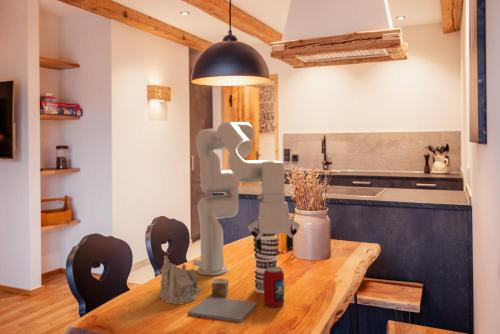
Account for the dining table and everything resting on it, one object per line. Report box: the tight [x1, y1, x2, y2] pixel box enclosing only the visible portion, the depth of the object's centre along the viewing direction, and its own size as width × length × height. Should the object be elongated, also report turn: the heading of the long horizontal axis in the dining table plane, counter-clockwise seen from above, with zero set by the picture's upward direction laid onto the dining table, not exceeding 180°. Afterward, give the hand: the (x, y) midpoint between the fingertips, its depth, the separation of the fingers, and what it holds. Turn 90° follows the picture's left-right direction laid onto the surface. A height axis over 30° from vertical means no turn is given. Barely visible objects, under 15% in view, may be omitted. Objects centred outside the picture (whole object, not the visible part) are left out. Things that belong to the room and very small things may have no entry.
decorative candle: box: [253, 225, 280, 295], centre depth 163 cm, size 9×9×25 cm
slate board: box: [187, 295, 258, 323], centre depth 144 cm, size 18×15×1 cm
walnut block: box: [211, 278, 229, 298], centre depth 159 cm, size 5×5×5 cm
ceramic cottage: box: [158, 255, 201, 305], centre depth 159 cm, size 16×16×15 cm
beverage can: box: [263, 266, 285, 308], centre depth 148 cm, size 7×7×12 cm
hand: (274, 250), depth 147 cm, fingers open, 9 cm apart
